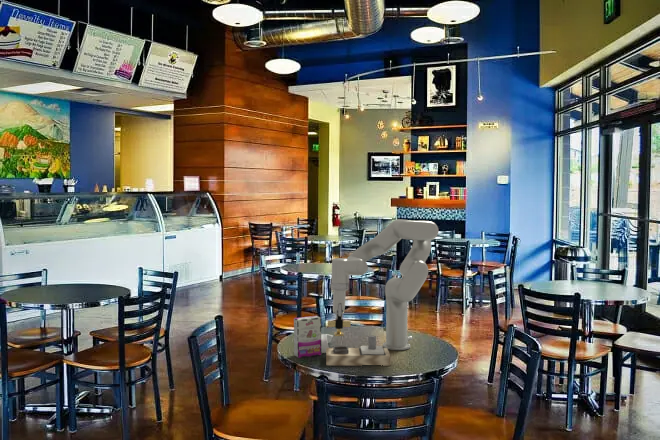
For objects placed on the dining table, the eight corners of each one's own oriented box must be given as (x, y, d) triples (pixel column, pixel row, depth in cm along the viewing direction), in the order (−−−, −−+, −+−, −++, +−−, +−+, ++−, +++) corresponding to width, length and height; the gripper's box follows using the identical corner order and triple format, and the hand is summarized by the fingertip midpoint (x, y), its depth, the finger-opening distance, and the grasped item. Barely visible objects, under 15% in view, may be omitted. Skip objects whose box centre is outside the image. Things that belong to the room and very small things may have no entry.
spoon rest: (306, 341, 281) (306, 326, 281) (331, 340, 282) (331, 325, 282) (311, 354, 257) (311, 338, 257) (338, 353, 259) (338, 337, 259)
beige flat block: (326, 365, 240) (326, 351, 240) (326, 357, 252) (326, 344, 252) (390, 365, 241) (390, 352, 240) (387, 357, 253) (387, 344, 252)
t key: (350, 334, 264) (350, 320, 263) (350, 336, 260) (350, 322, 259) (327, 333, 263) (327, 320, 263) (327, 335, 259) (327, 321, 259)
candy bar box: (317, 352, 260) (317, 315, 259) (321, 355, 255) (321, 317, 254) (293, 355, 255) (293, 317, 254) (297, 358, 250) (297, 319, 250)
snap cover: (361, 354, 242) (362, 339, 242) (360, 348, 251) (360, 334, 251) (383, 354, 242) (384, 339, 242) (381, 348, 251) (381, 334, 251)
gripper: (331, 283, 269) (330, 323, 269) (331, 289, 253) (330, 331, 253) (347, 284, 269) (346, 324, 269) (349, 289, 253) (348, 332, 253)
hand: (338, 327), depth 261 cm, fingers closed on t key, 2 cm apart
